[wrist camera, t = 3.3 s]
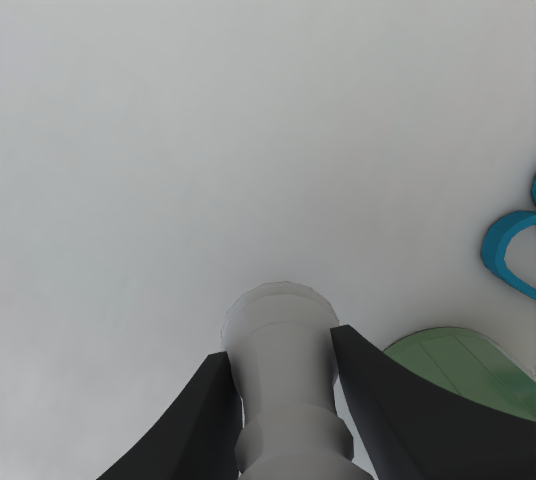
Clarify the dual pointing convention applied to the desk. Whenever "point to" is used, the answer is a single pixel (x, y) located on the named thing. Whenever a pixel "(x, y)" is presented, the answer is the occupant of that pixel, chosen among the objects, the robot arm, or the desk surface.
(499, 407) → the planter
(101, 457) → the desk surface
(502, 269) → the scissors
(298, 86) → the desk surface
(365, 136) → the desk surface
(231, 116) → the desk surface
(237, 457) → the rook chess piece
